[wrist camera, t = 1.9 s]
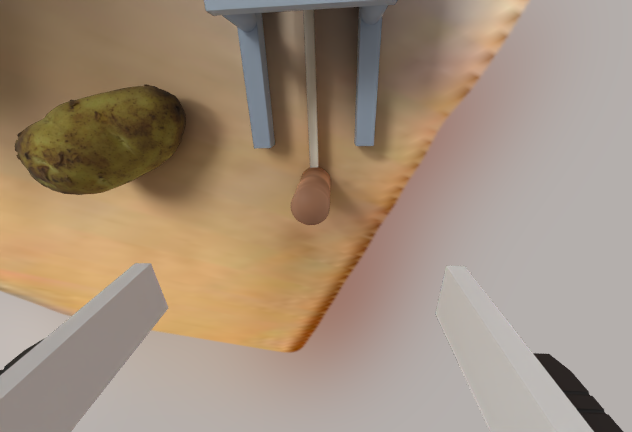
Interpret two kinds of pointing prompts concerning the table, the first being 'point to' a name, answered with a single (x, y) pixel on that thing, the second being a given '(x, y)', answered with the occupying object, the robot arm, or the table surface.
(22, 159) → the dirty green tuber
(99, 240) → the table surface
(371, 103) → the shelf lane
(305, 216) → the wooden mallet
